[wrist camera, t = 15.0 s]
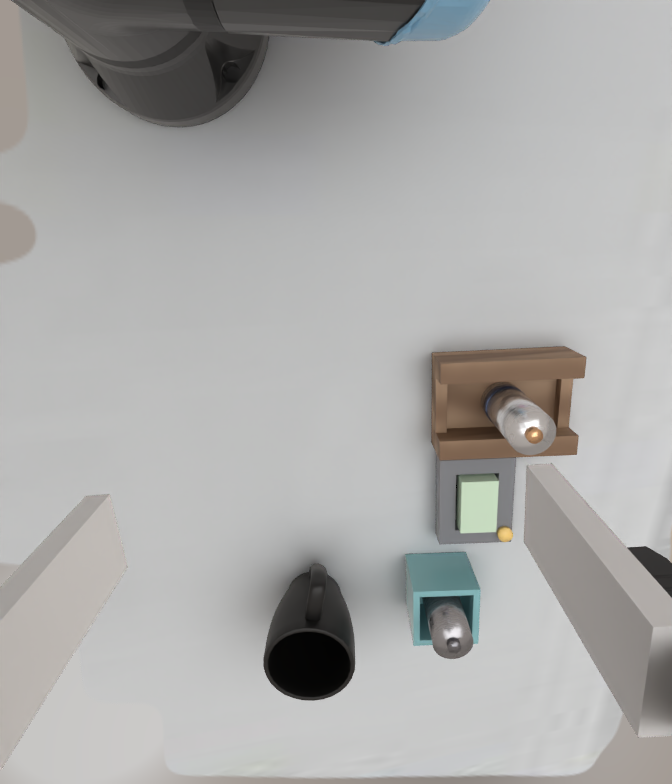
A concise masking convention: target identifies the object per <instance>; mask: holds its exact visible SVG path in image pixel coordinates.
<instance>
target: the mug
mask: <svg viewBox="0 0 672 784" xmlns="http://www.w3.org/2000/svg"><path fill="white" fill-rule="evenodd" d="M264 670H265V673H266V676H267V678H268V679H269V681H270V683H271V684H272V685H273V686H274V687H275V688H276V689H277V690H279V691H280V692H282V693H283V694H285V695H287V696H290V697H292V698H296V699H300V700H320V699H325V698H328V697H331V696H333V695H335V694H337V693H338V692H340V691H341V690H342V689H343V688H345V687H346V686H347V684H348V683H349V681H350V680H351V679H352V676H353V673H354V670H355V643H354V632H353V627H352V622H351V618H350V614H349V611H348V608H347V605H346V603H345V600H344V598H343V596H342V594H341V592H340V588H339V586H338V584H337V583H336V581H335V580H334V579H333V578H331V577H330V576H328V575H327V572H326V569H325V567H324V566H322V565H320V564H313V565H311V566H310V570H309V572H308V573H304V574H302V575H300V576H298V577H297V578H295V579H294V580H293V581H292V583H291V585H290V587H289V589H288V590H287V592H286V593H285V595H284V597H283V598H282V600H281V602H280V604H279V605H278V607H277V609H276V612H275V614H274V616H273V619H272V622H271V625H270V629H269V632H268V637H267V642H266V648H265V653H264Z"/></svg>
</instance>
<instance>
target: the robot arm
mask: <svg viewBox="0 0 672 784" xmlns="http://www.w3.org/2000/svg"><path fill="white" fill-rule="evenodd" d="M11 1H13V2H14V3H16V4H17V5H18V6H20V7H21V8H23V9H24V10H26V11H27V12H28V13H30V14H31V15H33V16H34V17H36V18H37V19H38V20H40V21H41V22H43V23H44V24H45V25H47V26H48V27H50V28H51V29H53V30H54V31H55V32H57V33H58V34H60V35H61V36H63V37H64V38H65V40H66V42H67V44H68V46H69V48H70V50H71V52H72V54H73V56H74V58H75V60H76V61H77V63H78V64H79V66H80V67H81V69H82V70H83V72H84V73H85V74H86V76H87V77H88V78H89V79H90V80H91V82H92V83H93V84H94V85H95V86H96V87H97V88H98V89H99V90H100V91H101V92H102V93H103V94H104V95H105V96H106V97H108V98H109V99H110V100H111V101H113V102H114V103H116V104H117V105H119V106H120V107H122V108H123V109H125V110H127V111H129V112H130V113H132V114H134V115H135V116H137V117H139V118H141V119H144V120H146V121H149V122H152V123H155V124H159V125H163V126H170V127H187V126H194V125H199V124H203V123H206V122H209V121H211V120H213V119H215V118H218V117H219V116H221V115H223V114H224V113H226V112H227V111H229V110H230V109H231V108H232V107H234V106H235V105H236V104H237V103H238V102H239V101H240V100H241V99H242V98H243V97H244V95H245V94H246V93H247V91H248V90H249V89H250V87H251V86H252V84H253V83H254V81H255V79H256V77H257V75H258V73H259V71H260V69H261V66H262V63H263V60H264V57H265V54H266V49H267V45H268V38H269V36H289V37H309V38H329V39H349V40H369V41H374V42H375V43H377V44H379V45H384V46H388V45H389V44H396V43H398V42H400V41H437V40H445V39H447V38H449V37H452V36H454V35H457V34H458V33H459V32H461V31H463V30H465V29H466V28H468V27H469V26H470V25H471V24H472V23H473V22H474V21H475V20H476V18H477V17H478V16H479V15H480V14H481V12H482V11H483V10H484V8H485V7H486V6H487V4H488V3H489V1H490V0H11ZM524 543H525V544H526V546H527V548H528V550H529V551H530V553H531V555H532V557H533V558H534V560H535V562H536V563H537V565H538V567H539V569H540V570H541V572H542V574H543V575H544V577H545V579H546V581H547V582H548V584H549V586H550V587H551V589H552V591H553V593H554V594H555V596H556V598H557V599H558V601H559V603H560V605H561V606H562V608H563V610H564V612H565V613H566V615H567V617H568V618H569V620H570V622H571V624H572V625H573V627H574V629H575V630H576V632H577V634H578V636H579V637H580V639H581V641H582V642H583V644H584V646H585V648H586V649H587V651H588V653H589V654H590V656H591V658H592V660H593V661H594V663H595V665H596V667H597V668H598V670H599V672H600V673H601V675H602V677H603V679H604V680H605V682H606V684H607V685H608V687H609V689H610V691H611V692H612V694H613V696H614V697H615V699H616V701H617V703H618V704H619V706H620V708H621V709H622V711H623V713H624V715H625V716H626V718H627V720H628V721H629V723H630V725H631V727H632V728H633V730H634V732H635V734H636V735H637V737H656V736H672V563H671V562H670V561H669V560H668V559H667V558H665V557H663V556H662V555H660V554H658V553H656V552H655V551H653V550H651V549H650V548H648V547H646V546H644V547H629V548H627V547H626V546H625V545H624V544H623V543H622V542H621V540H620V539H619V538H618V537H617V536H616V535H615V534H614V533H613V531H612V530H611V529H610V528H609V527H608V526H607V525H606V524H605V523H604V521H603V520H602V519H601V518H600V517H599V516H598V515H597V514H596V512H595V511H594V510H593V509H592V508H591V507H590V506H589V505H588V503H587V502H586V501H585V500H584V499H583V498H582V497H581V496H580V494H579V493H578V492H577V491H576V490H575V489H574V488H573V487H572V486H571V484H570V483H569V482H568V481H567V480H566V479H565V478H564V477H563V475H562V474H561V473H560V472H559V471H558V470H557V469H556V468H555V466H554V465H553V464H552V463H550V464H535V465H527V470H526V496H525V521H524ZM127 568H128V566H127V562H126V558H125V554H124V550H123V546H122V542H121V538H120V534H119V530H118V526H117V522H116V518H115V514H114V510H113V506H112V502H111V498H110V494H107V495H93V496H86V497H85V498H84V499H83V500H82V501H81V502H80V503H79V504H78V505H77V506H76V507H75V508H74V509H73V510H72V511H71V512H70V513H69V515H68V516H67V517H66V518H65V519H64V520H63V521H62V522H61V523H60V524H59V525H58V526H57V527H56V528H55V529H54V530H53V531H52V533H51V534H50V535H49V536H48V537H47V538H46V539H45V540H44V541H43V542H42V543H41V544H40V545H39V546H38V547H37V548H36V550H35V551H34V552H33V553H32V554H31V555H30V556H29V557H28V558H27V559H26V560H25V561H24V562H23V563H22V564H21V565H20V566H19V568H18V569H17V570H16V571H15V572H14V573H13V574H12V575H11V576H10V577H9V578H8V579H7V580H6V581H5V582H4V583H3V584H2V586H1V587H0V770H2V768H3V767H4V765H5V763H6V762H7V760H8V758H9V757H10V755H11V754H12V752H13V751H14V749H15V747H16V746H17V744H18V742H19V741H20V739H21V738H22V736H23V734H24V733H25V731H26V730H27V728H28V726H29V725H30V723H31V722H32V720H33V718H34V717H35V715H36V714H37V712H38V710H39V709H40V707H41V706H42V704H43V702H44V701H45V699H46V697H47V696H48V694H49V693H50V691H51V690H52V688H53V686H54V685H55V683H56V682H57V680H58V678H59V677H60V675H61V674H62V672H63V670H64V669H65V667H66V665H67V664H68V662H69V661H70V659H71V658H72V656H73V654H74V653H75V651H76V650H77V648H78V646H79V645H80V643H81V642H82V640H83V638H84V637H85V635H86V634H87V632H88V630H89V629H90V627H91V626H92V624H93V622H94V621H95V619H96V618H97V616H98V614H99V613H100V611H101V609H102V608H103V606H104V605H105V603H106V601H107V600H108V598H109V597H110V595H111V593H112V592H113V590H114V589H115V587H116V585H117V584H118V582H119V581H120V579H121V577H122V576H123V574H124V573H125V571H126V569H127Z"/></svg>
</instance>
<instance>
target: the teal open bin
mask: <svg viewBox="0 0 672 784" xmlns="http://www.w3.org/2000/svg"><path fill="white" fill-rule="evenodd" d="M437 596H459V597H460V600H461V603H462V606H463V609H464V612H465V615H466V618H467V621H468V624H469V627H470V630H471V633H472V637H473V644H478V635H479V611H480V587H479V585H478V582H477V580H476V577H475V575H474V572H473V570H472V567H471V564H470V562H469V559H468V557H467V554H466V552H451V553H424V554H406V606H407V612H408V617H409V623H410V628H411V634H412V640H413V645H414V646H419V645H433V644H432V639H431V635H430V630H429V626H428V621H427V617H426V613H425V608H424V604H423V599H422V597H437Z"/></svg>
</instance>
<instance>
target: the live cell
mask: <svg viewBox="0 0 672 784" xmlns="http://www.w3.org/2000/svg"><path fill="white" fill-rule="evenodd" d="M481 406H482V409H483V411H484V412H485V414H486V416H487V417H488V418H489V420H490V421H491V422H492V423H493V424H494V425H495V426H496V427H497V429H498V430H499V431H500V432H501V434H502V435H503V436H504V437H505V439H506V440H507V441H508V442H509V444H510V445H511V446H512V447H513V448H514V449H515V450H516V451H517V452H519V453H521V454H524V455H536V454H539V453H541V452H543V451H545V450H546V449H548V448H549V447H550V446H551V444H552V443H553V441H554V439H555V436H556V425H555V423H554V421H553V419H552V418H551V417H550V416H549V415H548V414H546V413H545V412H544V411H543V410H542V409H541V408H540V407H538V406H537V405H536V404H535V403H534V402H533V401H532V400H530V399H529V398H528V397H527V396H526V395H525V394H524V393H523V392H522V391H521V390H520V389H519V388H517V387H516V386H514V385H513V384H511V383H509V382H496V383H494V384H492V385H490V386H489V387H488V388H487V389H486V390H485V391H484V393H483V395H482V398H481Z"/></svg>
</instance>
